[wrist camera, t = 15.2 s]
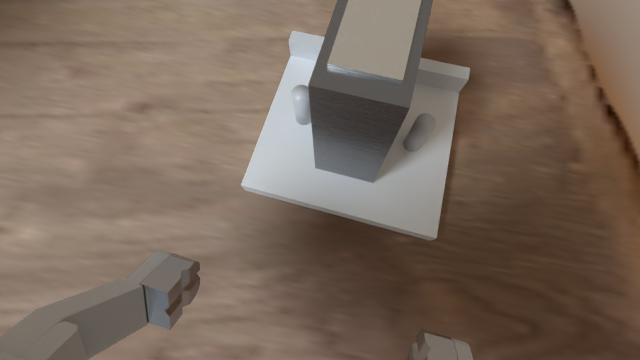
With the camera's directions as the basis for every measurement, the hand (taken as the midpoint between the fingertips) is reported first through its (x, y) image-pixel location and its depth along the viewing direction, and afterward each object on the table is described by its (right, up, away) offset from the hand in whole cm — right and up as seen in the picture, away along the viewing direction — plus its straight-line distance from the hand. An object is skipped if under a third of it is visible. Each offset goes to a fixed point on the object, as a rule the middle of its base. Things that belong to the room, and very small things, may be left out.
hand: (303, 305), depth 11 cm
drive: (+3, +8, +10) cm, 13 cm away
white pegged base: (+3, +8, +12) cm, 14 cm away
